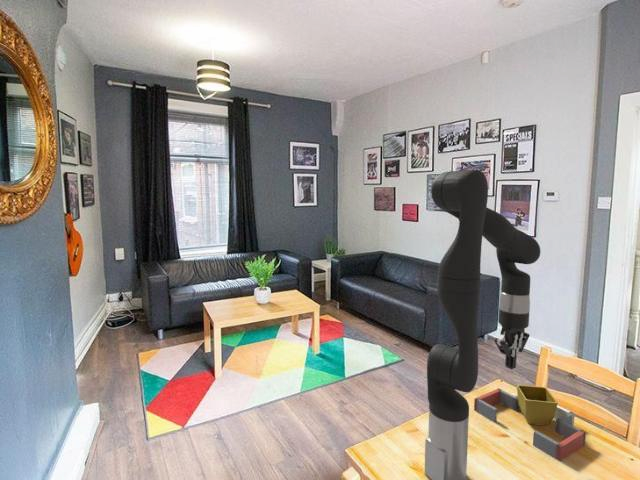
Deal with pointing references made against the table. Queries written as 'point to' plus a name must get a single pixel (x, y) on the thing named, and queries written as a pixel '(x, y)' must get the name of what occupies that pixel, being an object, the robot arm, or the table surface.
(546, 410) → the flower pot
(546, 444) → the box
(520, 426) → the table surface
